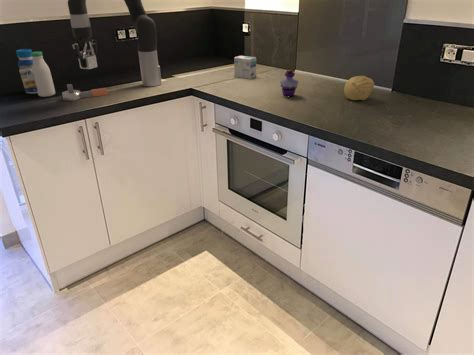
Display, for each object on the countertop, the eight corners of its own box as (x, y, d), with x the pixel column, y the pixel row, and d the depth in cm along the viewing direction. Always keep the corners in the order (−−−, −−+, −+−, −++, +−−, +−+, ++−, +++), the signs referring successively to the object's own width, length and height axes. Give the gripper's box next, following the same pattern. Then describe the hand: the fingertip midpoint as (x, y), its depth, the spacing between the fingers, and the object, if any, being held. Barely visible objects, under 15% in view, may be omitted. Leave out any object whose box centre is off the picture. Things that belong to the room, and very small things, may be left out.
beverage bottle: (47, 90, 191) (37, 49, 182) (33, 94, 185) (22, 52, 175) (35, 88, 194) (25, 47, 185) (21, 92, 188) (9, 50, 178)
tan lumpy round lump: (356, 104, 168) (359, 80, 163) (338, 97, 177) (341, 74, 172) (375, 100, 173) (379, 77, 167) (356, 94, 182) (360, 71, 177)
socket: (88, 65, 173) (86, 54, 170) (97, 66, 171) (95, 55, 169) (80, 68, 168) (77, 56, 166) (89, 69, 167) (87, 57, 164)
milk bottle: (59, 93, 187) (49, 51, 177) (47, 97, 180) (36, 54, 171) (46, 91, 189) (36, 50, 179) (34, 96, 183) (23, 53, 173)
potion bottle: (287, 92, 186) (288, 67, 180) (301, 95, 180) (303, 69, 175) (275, 95, 181) (276, 70, 175) (289, 99, 175) (291, 73, 169)
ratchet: (105, 91, 188) (103, 78, 185) (109, 95, 182) (106, 82, 179) (62, 97, 180) (59, 83, 177) (64, 102, 174) (61, 88, 171)
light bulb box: (256, 76, 213) (256, 56, 208) (250, 79, 208) (250, 59, 203) (240, 74, 218) (240, 55, 213) (234, 76, 213) (233, 57, 208)
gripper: (85, 23, 168) (92, 62, 176) (61, 27, 157) (70, 69, 165) (99, 23, 166) (106, 63, 174) (76, 28, 154) (84, 70, 162)
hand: (88, 66), depth 169 cm, fingers closed on socket, 5 cm apart
